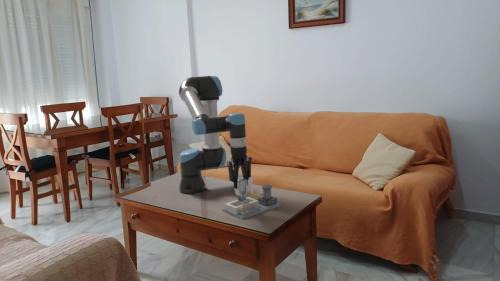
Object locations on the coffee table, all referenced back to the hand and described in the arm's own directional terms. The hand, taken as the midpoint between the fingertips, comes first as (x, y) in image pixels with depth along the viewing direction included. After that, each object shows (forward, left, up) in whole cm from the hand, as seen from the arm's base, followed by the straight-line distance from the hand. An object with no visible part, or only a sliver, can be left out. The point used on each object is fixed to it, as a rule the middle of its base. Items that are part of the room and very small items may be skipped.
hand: (241, 193), depth 184 cm
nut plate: (+1, +5, -9) cm, 10 cm away
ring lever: (-2, +13, -7) cm, 15 cm away
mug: (-19, +15, -9) cm, 26 cm away
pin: (0, 0, -3) cm, 3 cm away
